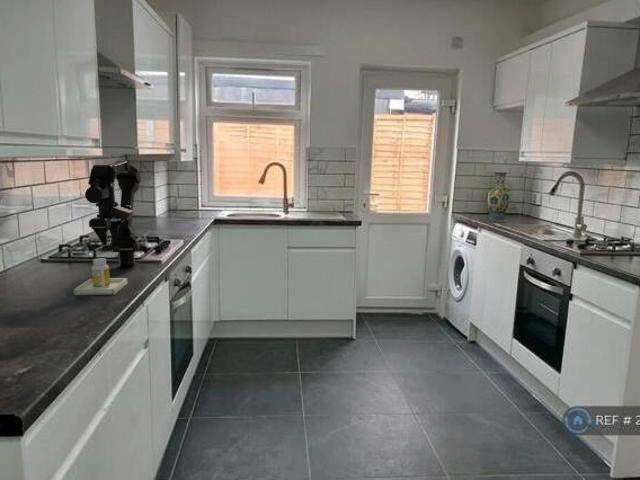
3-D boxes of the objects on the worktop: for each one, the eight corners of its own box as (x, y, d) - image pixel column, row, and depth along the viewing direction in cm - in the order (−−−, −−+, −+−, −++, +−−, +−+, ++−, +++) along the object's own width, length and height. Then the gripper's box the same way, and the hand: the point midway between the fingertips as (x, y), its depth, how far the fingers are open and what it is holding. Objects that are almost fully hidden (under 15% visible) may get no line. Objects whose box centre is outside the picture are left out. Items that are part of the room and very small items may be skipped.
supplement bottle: (95, 290, 161) (92, 262, 159) (91, 286, 165) (89, 259, 163) (112, 287, 164) (109, 259, 162) (108, 283, 168) (105, 256, 166)
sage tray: (91, 283, 171) (90, 278, 170) (128, 282, 171) (127, 278, 171) (74, 294, 158) (73, 289, 157) (114, 294, 158) (113, 289, 158)
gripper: (119, 203, 164) (123, 247, 167) (137, 196, 183) (140, 237, 186) (86, 203, 164) (90, 247, 167) (107, 196, 182) (111, 237, 185)
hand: (110, 242), depth 176 cm, fingers open, 9 cm apart
